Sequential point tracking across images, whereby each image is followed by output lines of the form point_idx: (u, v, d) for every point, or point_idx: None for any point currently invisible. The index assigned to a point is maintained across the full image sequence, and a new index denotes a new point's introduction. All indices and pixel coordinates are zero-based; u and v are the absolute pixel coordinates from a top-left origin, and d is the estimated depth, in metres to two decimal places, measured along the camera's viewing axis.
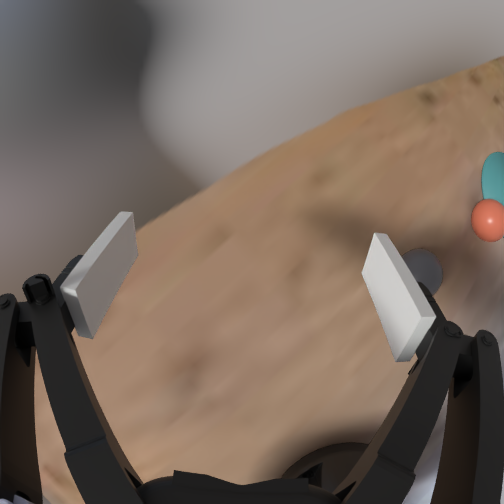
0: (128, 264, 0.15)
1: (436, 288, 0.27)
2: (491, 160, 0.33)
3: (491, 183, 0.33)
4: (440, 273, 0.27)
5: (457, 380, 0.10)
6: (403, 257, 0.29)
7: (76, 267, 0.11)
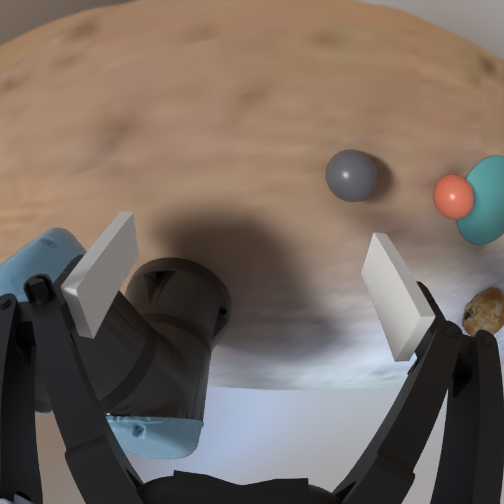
0: (128, 264, 0.15)
1: (355, 198, 0.29)
2: (501, 161, 0.30)
3: (483, 175, 0.31)
4: (368, 190, 0.28)
5: (456, 380, 0.10)
6: (348, 151, 0.29)
7: (77, 267, 0.11)
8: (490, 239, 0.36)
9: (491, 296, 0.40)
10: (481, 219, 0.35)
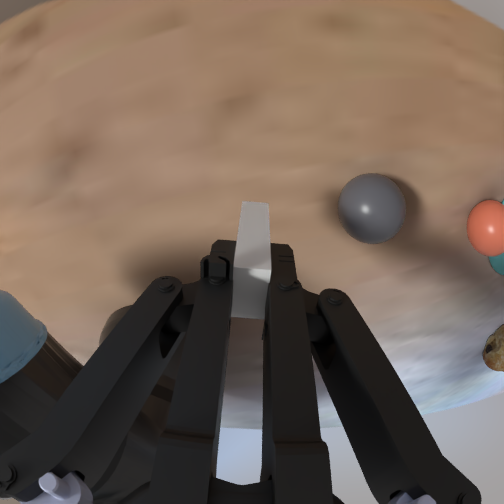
0: None
1: (377, 241, 0.22)
2: None
3: None
4: (394, 230, 0.21)
5: (319, 349, 0.11)
6: (368, 176, 0.21)
7: (237, 249, 0.13)
8: None
9: None
10: None
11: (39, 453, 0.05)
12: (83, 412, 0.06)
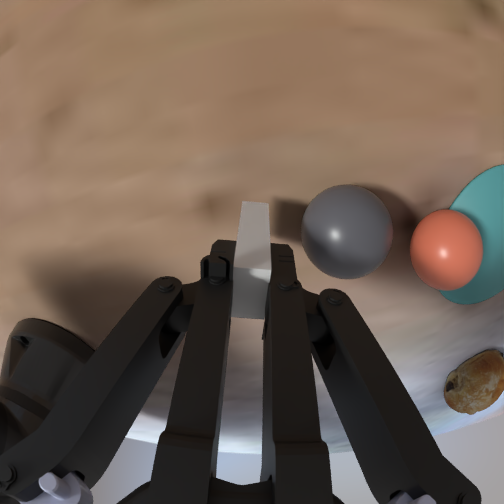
0: None
1: None
2: None
3: (483, 199, 0.18)
4: None
5: (319, 349, 0.11)
6: (370, 192, 0.16)
7: (237, 249, 0.13)
8: (489, 295, 0.23)
9: (485, 365, 0.26)
10: None
11: (39, 452, 0.05)
12: (83, 412, 0.06)
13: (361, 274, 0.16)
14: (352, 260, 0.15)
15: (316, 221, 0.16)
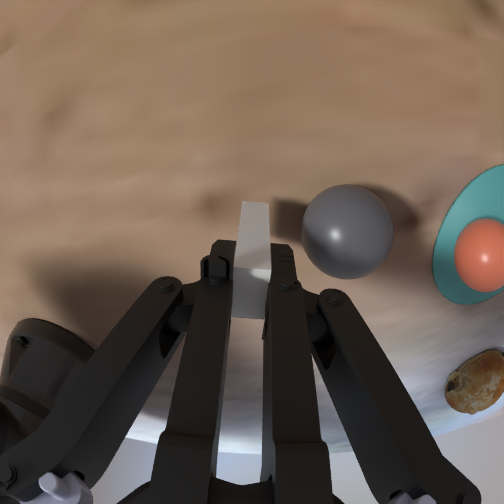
0: None
1: None
2: None
3: (484, 199, 0.18)
4: None
5: (319, 349, 0.11)
6: (370, 191, 0.16)
7: (237, 249, 0.13)
8: (489, 295, 0.23)
9: (486, 365, 0.26)
10: None
11: (39, 453, 0.05)
12: (83, 412, 0.06)
13: (361, 274, 0.16)
14: (353, 260, 0.15)
15: (317, 221, 0.16)
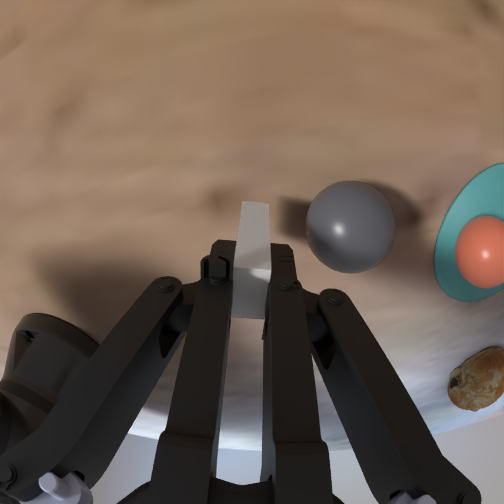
0: None
1: None
2: None
3: (485, 197, 0.18)
4: None
5: (319, 349, 0.11)
6: (373, 188, 0.16)
7: (237, 249, 0.13)
8: (490, 292, 0.23)
9: (489, 361, 0.26)
10: None
11: (39, 453, 0.05)
12: (83, 412, 0.06)
13: (364, 268, 0.16)
14: (356, 254, 0.15)
15: (320, 215, 0.16)
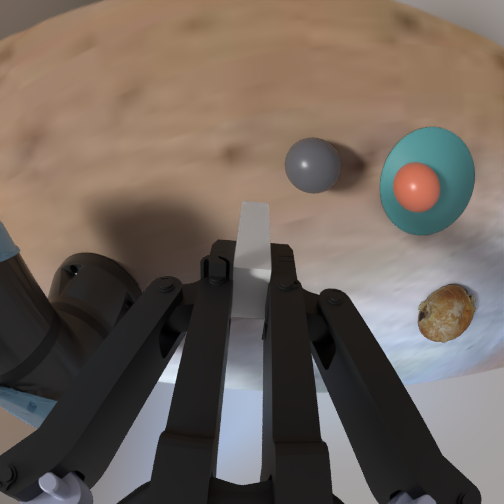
0: None
1: None
2: (438, 133, 0.28)
3: (414, 151, 0.30)
4: None
5: (319, 349, 0.11)
6: None
7: (237, 249, 0.13)
8: (436, 229, 0.35)
9: (449, 294, 0.38)
10: None
11: (39, 453, 0.05)
12: (83, 412, 0.06)
13: (321, 186, 0.27)
14: (314, 175, 0.27)
15: (292, 155, 0.27)
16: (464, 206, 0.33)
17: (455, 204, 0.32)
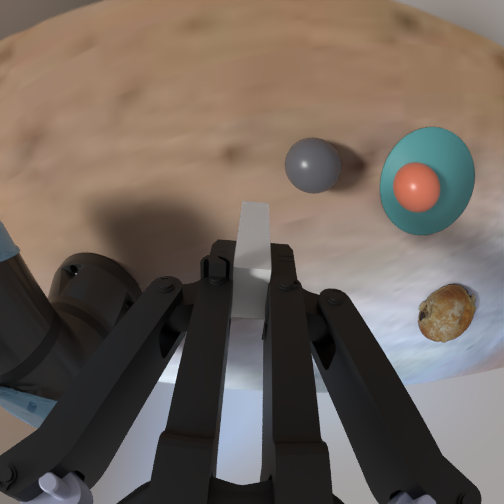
0: None
1: None
2: (438, 133, 0.28)
3: (414, 151, 0.30)
4: None
5: (319, 349, 0.11)
6: None
7: (237, 249, 0.13)
8: (436, 229, 0.35)
9: (449, 294, 0.38)
10: None
11: (39, 453, 0.05)
12: (83, 412, 0.06)
13: (321, 186, 0.27)
14: (314, 175, 0.27)
15: (292, 155, 0.27)
16: (464, 206, 0.33)
17: (455, 204, 0.33)
